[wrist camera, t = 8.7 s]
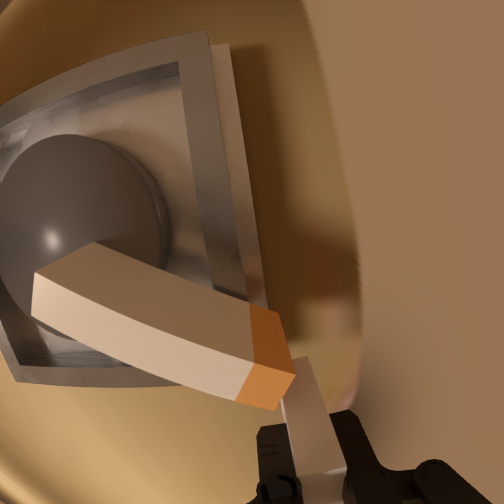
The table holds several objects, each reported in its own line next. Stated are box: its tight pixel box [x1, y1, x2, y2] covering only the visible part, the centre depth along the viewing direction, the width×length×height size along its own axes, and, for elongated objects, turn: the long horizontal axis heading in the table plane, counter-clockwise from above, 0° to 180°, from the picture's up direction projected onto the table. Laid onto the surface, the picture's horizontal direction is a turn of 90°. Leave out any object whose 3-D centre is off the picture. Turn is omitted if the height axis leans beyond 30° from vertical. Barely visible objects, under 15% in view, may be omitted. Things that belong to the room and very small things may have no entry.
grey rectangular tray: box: [0, 30, 268, 388], centre depth 15 cm, size 20×18×3 cm
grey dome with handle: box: [0, 134, 296, 411], centre depth 12 cm, size 17×11×7 cm, turn 68°
